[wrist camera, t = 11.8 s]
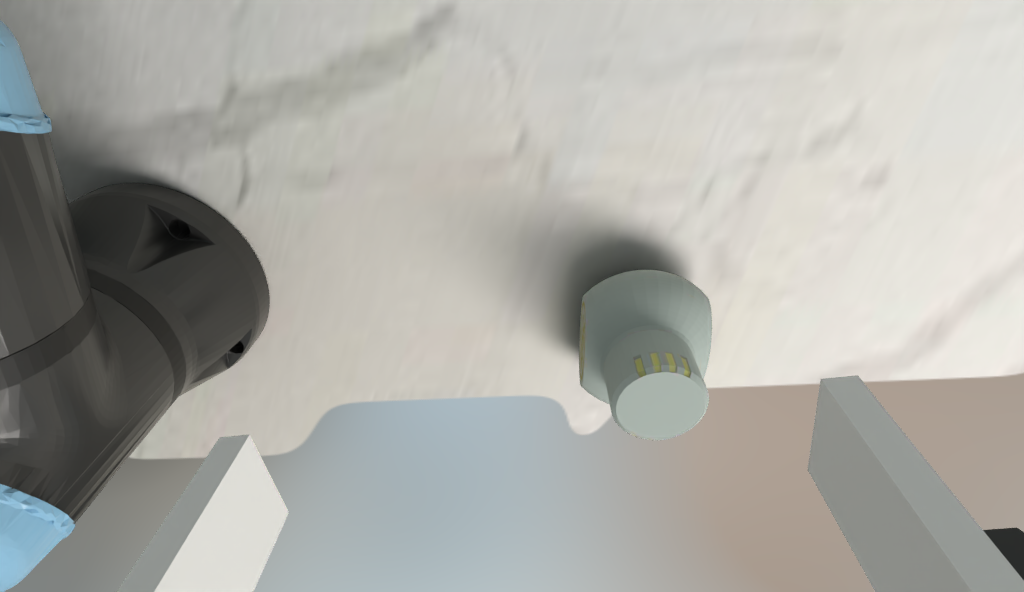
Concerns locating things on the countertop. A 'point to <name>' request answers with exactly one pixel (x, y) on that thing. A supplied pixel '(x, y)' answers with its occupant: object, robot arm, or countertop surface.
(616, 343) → the air freshener
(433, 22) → the countertop surface
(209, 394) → the countertop surface
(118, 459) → the robot arm
